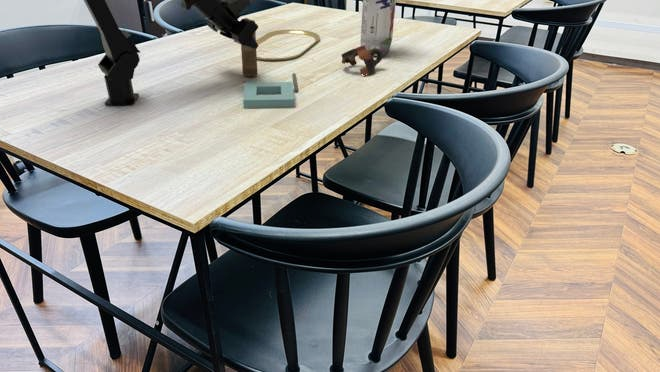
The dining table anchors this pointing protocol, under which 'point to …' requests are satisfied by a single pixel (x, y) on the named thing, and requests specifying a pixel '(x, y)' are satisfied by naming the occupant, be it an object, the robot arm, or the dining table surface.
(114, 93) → the robot arm
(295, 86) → the grey thin rod
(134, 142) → the dining table surface
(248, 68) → the dowel
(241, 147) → the dining table surface
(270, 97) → the square ring
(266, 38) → the gold oval loop
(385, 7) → the juice carton
